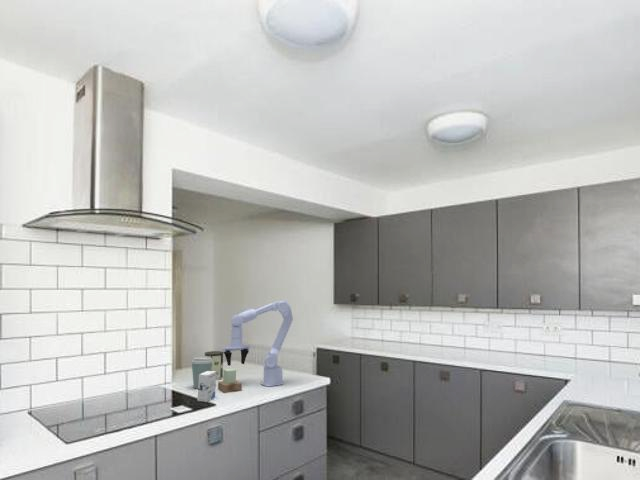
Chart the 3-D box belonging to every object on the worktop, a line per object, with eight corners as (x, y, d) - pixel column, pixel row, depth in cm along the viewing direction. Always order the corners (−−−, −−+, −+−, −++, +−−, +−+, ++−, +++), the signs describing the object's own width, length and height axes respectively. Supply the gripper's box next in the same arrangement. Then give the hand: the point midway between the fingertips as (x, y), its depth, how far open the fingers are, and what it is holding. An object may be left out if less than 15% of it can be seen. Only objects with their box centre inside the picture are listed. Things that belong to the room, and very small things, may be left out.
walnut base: (235, 387, 217) (235, 379, 217) (241, 391, 209) (241, 383, 209) (218, 390, 212) (218, 381, 213) (223, 393, 204) (223, 385, 205)
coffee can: (213, 375, 243) (214, 350, 245) (226, 377, 238) (227, 352, 239) (199, 379, 235) (200, 352, 236) (212, 381, 229) (213, 354, 231)
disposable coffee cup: (196, 384, 221) (197, 355, 223) (215, 385, 219) (216, 355, 221) (186, 389, 211) (187, 358, 212) (206, 390, 209) (207, 359, 210)
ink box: (206, 396, 198) (206, 370, 200) (216, 397, 197) (216, 371, 199) (197, 401, 190) (198, 374, 191) (207, 401, 189) (208, 374, 190)
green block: (231, 380, 214) (231, 368, 215) (235, 382, 211) (236, 370, 211) (223, 382, 211) (223, 369, 212) (227, 383, 208) (228, 371, 208)
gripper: (226, 339, 216) (225, 367, 214) (252, 337, 224) (252, 364, 222) (221, 338, 221) (220, 365, 220) (246, 336, 230) (246, 362, 228)
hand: (235, 364), depth 222 cm, fingers open, 7 cm apart
